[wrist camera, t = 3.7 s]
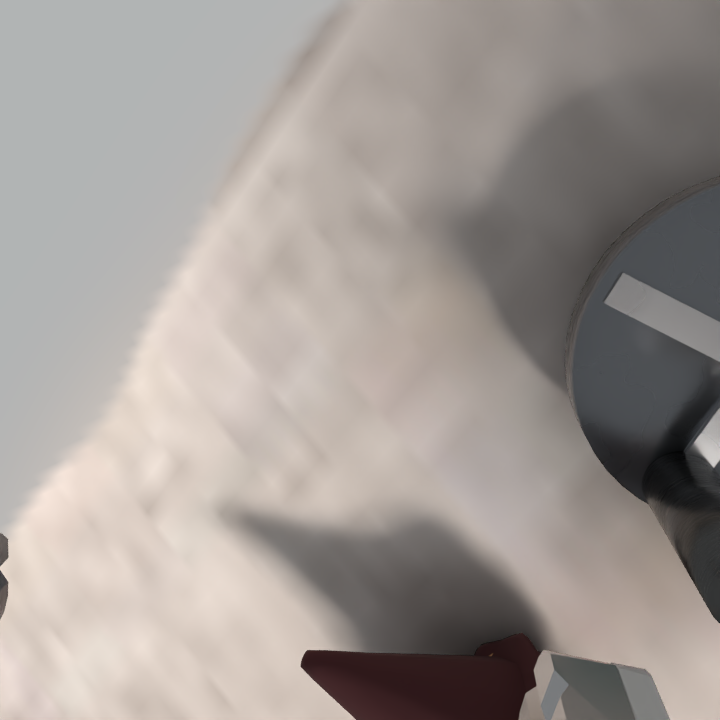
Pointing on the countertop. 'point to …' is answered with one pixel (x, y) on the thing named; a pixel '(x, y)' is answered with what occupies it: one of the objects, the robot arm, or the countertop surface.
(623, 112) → the countertop surface
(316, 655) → the maroon cone figure
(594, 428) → the handwheel
